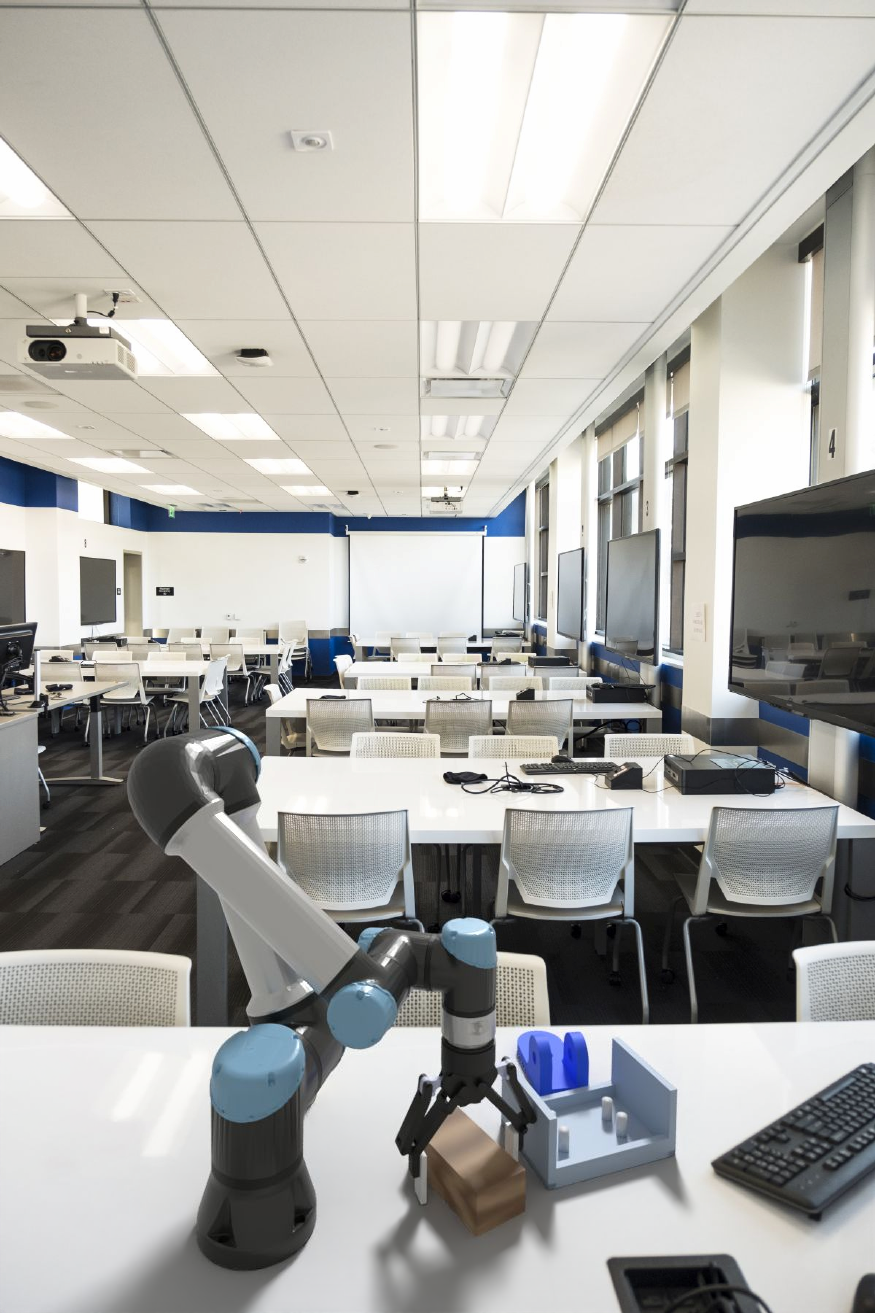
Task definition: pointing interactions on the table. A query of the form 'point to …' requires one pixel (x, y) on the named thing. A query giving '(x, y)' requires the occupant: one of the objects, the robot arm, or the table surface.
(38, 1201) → the table surface
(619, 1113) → the frame
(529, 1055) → the bracket
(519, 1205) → the brown wooden block
